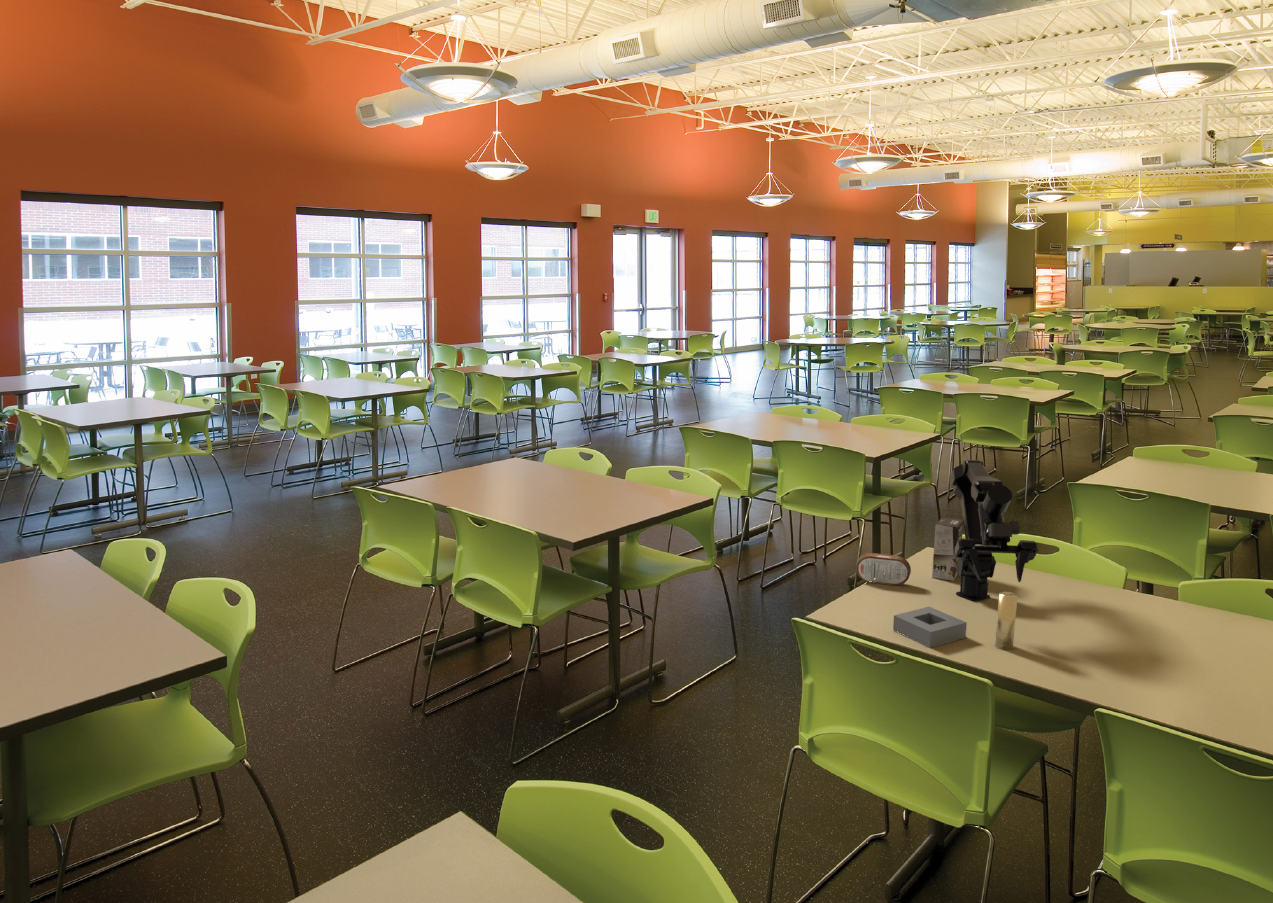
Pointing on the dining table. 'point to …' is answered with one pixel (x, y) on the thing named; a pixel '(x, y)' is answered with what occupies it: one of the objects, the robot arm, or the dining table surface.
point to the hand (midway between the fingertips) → (999, 580)
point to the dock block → (930, 626)
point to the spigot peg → (1006, 620)
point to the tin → (883, 568)
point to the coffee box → (946, 548)
